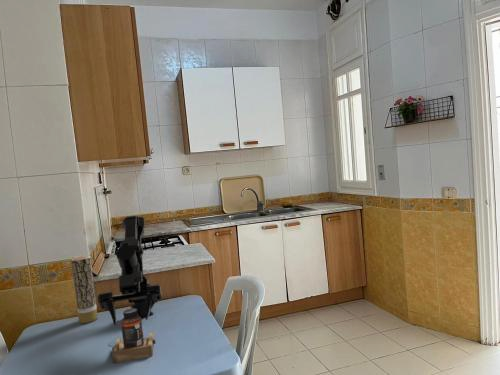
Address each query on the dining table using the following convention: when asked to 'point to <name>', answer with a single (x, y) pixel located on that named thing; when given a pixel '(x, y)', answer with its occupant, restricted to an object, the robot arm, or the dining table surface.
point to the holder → (133, 350)
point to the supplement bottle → (132, 329)
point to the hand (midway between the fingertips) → (130, 322)
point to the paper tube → (84, 288)
